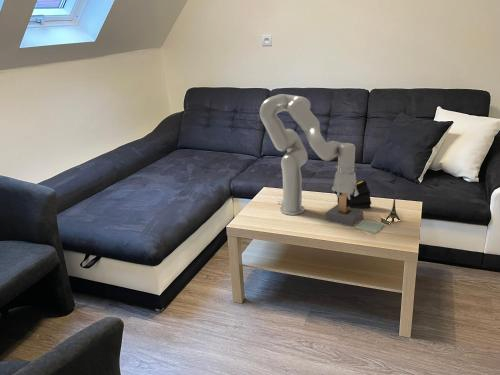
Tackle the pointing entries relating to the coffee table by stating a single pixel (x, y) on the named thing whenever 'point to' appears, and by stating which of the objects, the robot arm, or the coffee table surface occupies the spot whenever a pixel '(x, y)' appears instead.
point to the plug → (343, 204)
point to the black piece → (361, 196)
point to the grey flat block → (344, 216)
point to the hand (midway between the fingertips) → (344, 204)
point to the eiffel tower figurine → (390, 215)
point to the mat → (369, 226)
